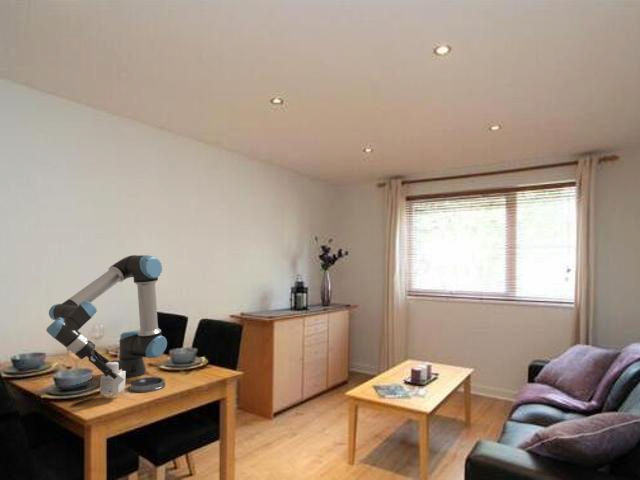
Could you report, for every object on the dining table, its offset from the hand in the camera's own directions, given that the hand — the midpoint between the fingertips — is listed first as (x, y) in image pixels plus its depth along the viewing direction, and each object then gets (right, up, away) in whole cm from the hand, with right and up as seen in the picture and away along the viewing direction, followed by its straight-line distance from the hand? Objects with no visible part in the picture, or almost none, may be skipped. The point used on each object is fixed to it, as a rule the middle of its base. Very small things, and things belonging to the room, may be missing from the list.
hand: (121, 378), depth 176 cm
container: (-3, -5, -2) cm, 6 cm away
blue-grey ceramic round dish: (+5, -9, +15) cm, 19 cm away
